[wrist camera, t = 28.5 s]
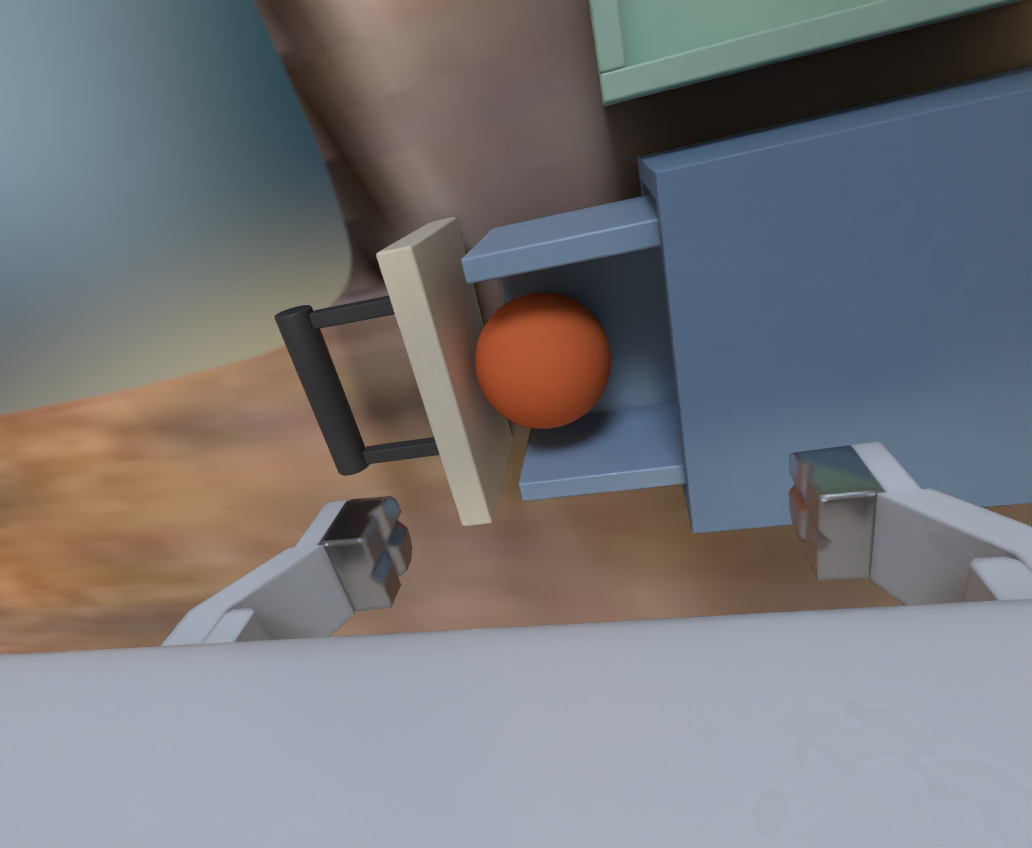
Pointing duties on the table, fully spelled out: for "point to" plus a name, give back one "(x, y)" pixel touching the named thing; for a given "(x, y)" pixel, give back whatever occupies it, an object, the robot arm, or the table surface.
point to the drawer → (453, 340)
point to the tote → (739, 35)
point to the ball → (543, 360)
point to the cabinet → (853, 296)
